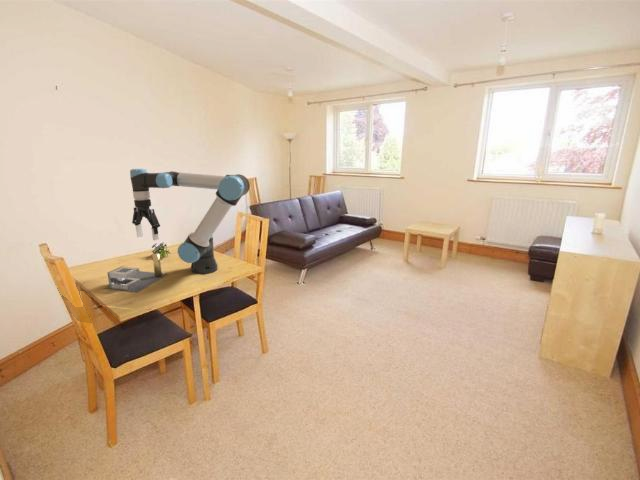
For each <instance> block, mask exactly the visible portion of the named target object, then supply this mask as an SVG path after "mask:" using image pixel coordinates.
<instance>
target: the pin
mask: <svg viewBox="0 0 640 480" xmlns="http://www.w3.org/2000/svg"><path fill="white" fill-rule="evenodd" d="M151 254H152V265H153V271H154V272H153V273H155V277H156V278H159V277H162V265H161V263H162V262H161V258H160V255H161V254H159V253H155V254H153V253H151Z"/></svg>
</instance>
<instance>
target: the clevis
mask: <svg viewBox="0 0 640 480" xmlns="http://www.w3.org/2000/svg"><path fill="white" fill-rule="evenodd" d="M139 271H140V268H139V267H131V266H119V267H116V268H115V269H112V270H110V271H108V272H107V279H108V286H110V288H111V289H120V290H130V289H131V288H133V287H135V286H137V285H139V284H141V280H140V279H136V278H130V277H132V276H134V275H136V274H138V273H139Z"/></svg>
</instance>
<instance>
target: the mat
mask: <svg viewBox="0 0 640 480" xmlns="http://www.w3.org/2000/svg"><path fill="white" fill-rule="evenodd" d="M169 275H170V273H162V277H159V278H156V277H155V273H154V272H152V271H143V270H142V271H141V270H139V273H138V274H136V275H134V276H132V277H130V278H136V279H140V280H141V284H139V285H137V286H135V287H133V288H131V289H130V290H120V289H111V288H110V286H109V285H108V286H105V287H104V288H103V290H111V291H112V290H113V291H120V292H129V293H139V292H142V290H144V289H147V288H148V287H149V286H151V285H153V284H155V283H156V282H159V281H160V280H162V279H163V278H165V277H167V276H169Z"/></svg>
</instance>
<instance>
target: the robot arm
mask: <svg viewBox="0 0 640 480" xmlns="http://www.w3.org/2000/svg"><path fill="white" fill-rule="evenodd" d="M129 173H130V174H129V176H130V181H131V187H132V197H133V199H134V200H133V202H134V207H133V216H132V222H131V223H132V224H133V225H134V226H135V230H136V237H137V238H140V237H141V238H142V237H144V234H143V227H142V223H141V222H142V220H143V219H144V218H145V219H147V222H148V223H149V225H151V236H152V241H157V240H159V229H158V228H160V227H161V224H160V222H159V220H158V217H157V215H156V212H155V209H154V208H150V207H151V206H152V202H151V199H150V198H151V195H150V193H151V192H150V189H152V188H153V189H156V188H157V189H169V188H171V187H185V188H196V189H207V190H208V189H209V190H216V192H215V196H216V198H215V199H214V201H213V202H212V204H211V205H210V207H209V209H208V210H207V212H206V213H205V214H204V216H203V218H202V219H201V221H200V222H199V224H198V225H197V227H196V229H195V231H194V232H190V233H189V234H188V236H187V237H186V239H184V241H183V242H181V244H180V245H179V246H178V247H177V255H178V257H179V259H181V260H182V262H184V263H186V264H190V265H191V266H190V271H191V272H192V273H194V274H200V275H206V274H212V273H214V272H216V271H218V268H219V267H218V263H217V261H216V258H215V251H214V235H213V234H214V233H215V232H216V230H217V229H218V227H219V226H220V224H221V223H222V221H223V220H224V218H225V217H226V215H227V214H228V212H229V211H230V209H231V208H232V207H236V206H237V204H238V203H239V201H240V200H241V198H242V197H243V196H245V195H246V194H248V192H249V191H250V186H251V185H250V180H249V179H248V178H247V177H246V176H244V175H243V174H240V173H239V174H226V175H213V174H200V173H192V172H191V173H190V172H189V173H188V172H178V171H166V172H148V171H147V169H146V168H132V169H130V170H129Z"/></svg>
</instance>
